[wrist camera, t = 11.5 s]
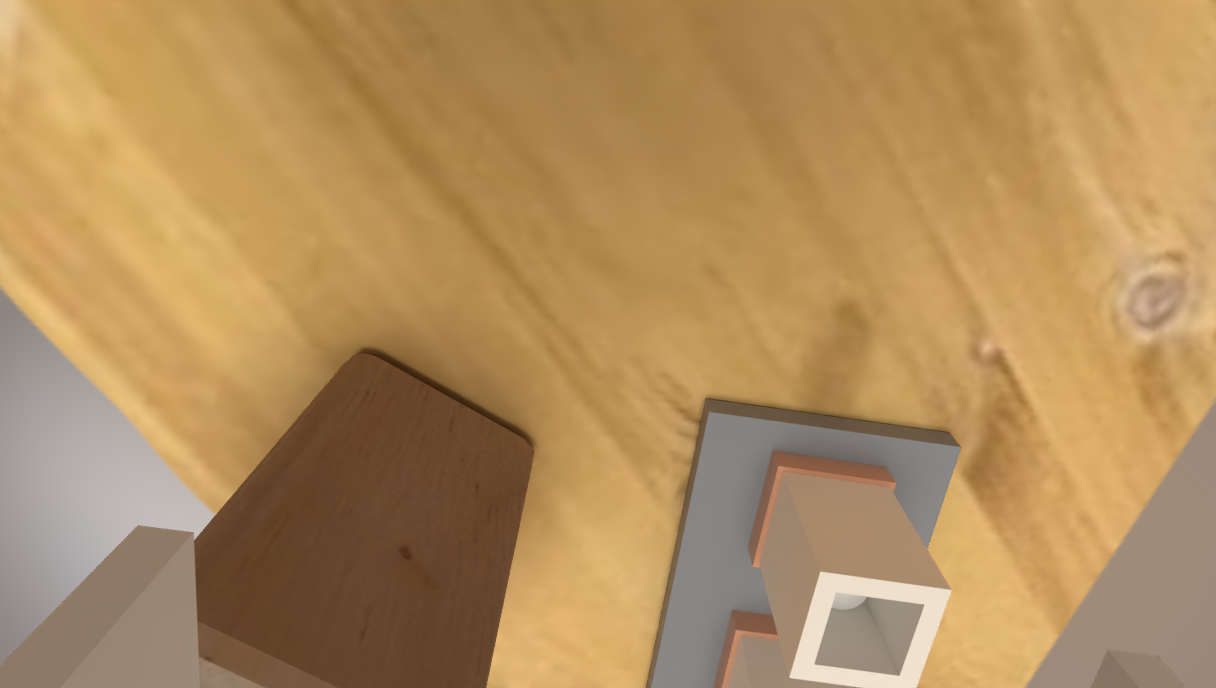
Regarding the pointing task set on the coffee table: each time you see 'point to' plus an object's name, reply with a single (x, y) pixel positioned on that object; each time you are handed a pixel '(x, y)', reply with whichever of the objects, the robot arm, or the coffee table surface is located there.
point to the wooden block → (365, 544)
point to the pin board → (727, 506)
